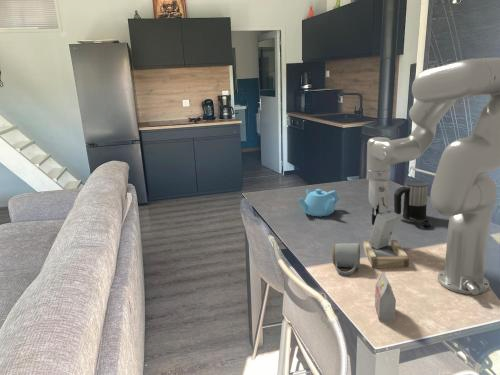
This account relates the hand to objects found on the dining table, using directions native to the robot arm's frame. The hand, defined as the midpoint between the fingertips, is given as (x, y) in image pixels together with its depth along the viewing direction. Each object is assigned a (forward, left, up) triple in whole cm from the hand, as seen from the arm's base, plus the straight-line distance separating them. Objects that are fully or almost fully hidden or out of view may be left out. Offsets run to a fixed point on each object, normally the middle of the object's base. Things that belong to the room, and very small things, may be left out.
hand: (376, 224), depth 134 cm
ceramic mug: (-18, +13, -7) cm, 23 cm away
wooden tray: (-11, 0, -7) cm, 13 cm away
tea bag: (-42, +8, -7) cm, 44 cm away
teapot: (+35, +17, -7) cm, 39 cm away
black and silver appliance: (+21, -21, -7) cm, 31 cm away
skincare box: (-2, 0, -7) cm, 7 cm away
